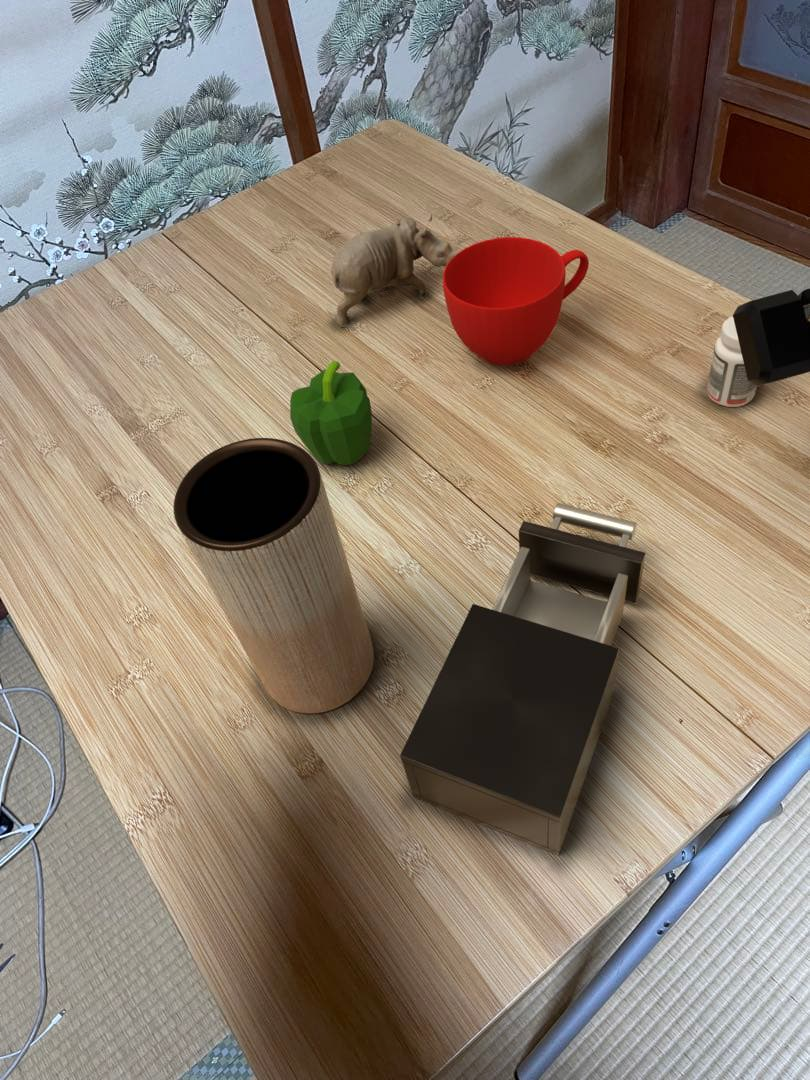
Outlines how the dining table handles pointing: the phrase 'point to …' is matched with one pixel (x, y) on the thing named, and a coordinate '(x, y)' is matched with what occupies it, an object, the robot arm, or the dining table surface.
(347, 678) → the planter
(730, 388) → the pill bottle
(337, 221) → the dining table surface
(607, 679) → the drawer cabinet
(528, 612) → the drawer
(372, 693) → the dining table surface
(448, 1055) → the dining table surface
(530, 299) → the ceramic cup
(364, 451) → the bell pepper
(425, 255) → the rhinoceros figurine
